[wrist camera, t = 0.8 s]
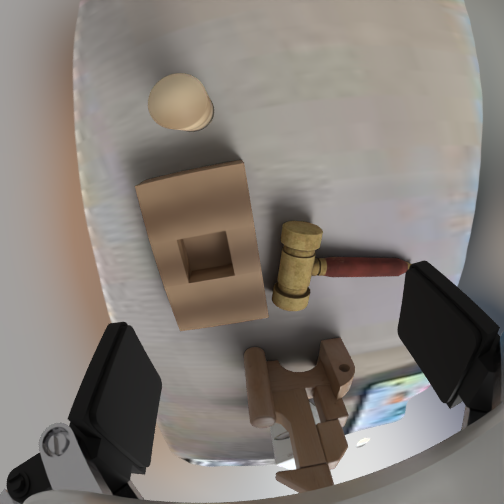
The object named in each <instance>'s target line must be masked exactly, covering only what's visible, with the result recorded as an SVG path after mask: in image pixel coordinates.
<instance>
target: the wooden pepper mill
mask: <svg viewBox="0 0 504 504" xmlns="http://www.w3.org/2000/svg"><path fill="white" fill-rule="evenodd" d="M148 109H149V112H150V115H151V117H152V118H153V119H154V121H155V122H156V123H158V124H159V125H161V126H162V127H165V128H169V129H176V130H184V131H189V132H195V131H199V130H202V129H204V128H206V127H207V126H208V125H209V124H210V123H211V121H212V119H213V116H214V106H213V103H212V101H211V100H210V98H209V96H208V94H207V92H206V90H205V88H204V86H203V85H202V83H201V82H200V81H199V80H198V79H197V78H195V77H193V76H191V75H189V74H184V73H176V74H171V75H168V76H166V77H164V78H163V79H161V80H160V81H159V82H158V83H156V85H155V86H154V87H153V89H152V90H151V92H150V95H149V99H148Z"/></svg>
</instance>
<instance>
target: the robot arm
mask: <svg viewBox="0 0 504 504" xmlns="http://www.w3.org/2000/svg"><path fill="white" fill-rule="evenodd" d="M499 328H500V327H499V326H498V325H497V324H496V323H495V322H494V321H493V320H492V319H491V318H490V317H489V316H488V315H487V314H486V313H485V312H484V311H483V310H482V309H481V308H479V307H478V305H476V304H475V303H474V302H473V301H472V300H471V299H470V298H469V297H468V296H467V295H466V294H465V293H463V292H462V291H461V290H460V289H459V288H458V287H457V286H456V285H454V284H453V283H452V282H451V281H450V280H449V279H448V278H446V277H445V276H444V275H443V274H442V273H441V272H439V271H438V270H437V269H436V268H435V267H433V266H432V265H431V264H430V263H428V262H427V261H421V262H417V263H414V264H411V265H410V267H409V269H408V270H407V271H406V275H405V283H404V291H403V299H402V306H401V312H400V318H399V324H398V335H399V338H400V339H401V341H402V342H403V344H404V345H405V346H406V348H407V349H408V351H409V352H410V354H411V355H412V357H413V358H414V360H415V361H416V363H417V364H418V366H419V367H420V369H421V370H422V372H423V373H424V375H425V376H426V378H427V379H428V381H429V382H430V384H431V386H432V387H433V389H434V390H435V392H436V393H437V395H438V397H439V398H440V400H441V401H442V402H443V403H447V405H448V407H449V408H450V409H451V408H452V407H454V406H456V405H458V404H459V403H461V402H462V401H463V402H464V403H465V405H466V406H465V412H464V418H463V423H462V429H461V431H459V432H458V433H456V434H454V435H453V436H451V437H449V438H448V439H446V440H444V441H442V442H440V443H439V444H437V445H435V446H433V447H431V448H429V449H427V450H425V451H423V452H421V453H419V454H417V455H415V456H412V457H410V458H408V459H406V460H403V461H401V462H399V463H396V464H394V465H392V466H389V467H387V468H384V469H382V470H379V471H376V472H373V473H371V474H368V475H365V476H362V477H359V478H356V479H353V480H350V481H346V482H343V483H340V484H336V485H332V486H329V487H325V488H321V489H317V490H312V491H308V492H303V493H298V494H293V495H287V496H281V497H275V498H268V499H260V500H252V501H239V502H224V503H178V502H162V501H150V500H144V498H143V497H142V496H141V494H140V493H139V492H138V490H137V489H136V487H135V486H134V485H133V483H132V482H131V480H130V476H131V473H135V474H145V472H146V467H149V465H150V462H151V454H152V446H153V440H154V433H155V426H156V419H157V413H158V407H159V401H160V395H161V389H162V382H161V378H160V376H159V375H158V373H157V371H156V369H155V368H154V366H153V364H152V363H151V361H150V359H149V357H148V355H147V354H146V352H145V350H144V348H143V346H142V344H141V343H140V341H139V339H138V337H137V335H136V333H135V331H134V329H133V328H132V326H130V325H127V323H126V322H118V323H110V324H109V325H108V326H107V328H106V330H105V332H104V334H103V336H102V338H101V340H100V343H99V345H98V347H97V349H96V351H95V353H94V355H93V358H92V360H91V362H90V364H89V367H88V369H87V371H86V374H85V376H84V379H83V381H82V383H81V386H80V388H79V391H78V393H77V396H76V398H75V400H74V403H73V406H72V408H71V411H70V414H69V417H68V419H69V421H70V425H69V426H68V425H66V424H64V423H55V424H53V425H50V426H49V427H48V428H46V429H45V431H44V432H43V433H42V435H41V437H40V440H39V451H40V453H38V454H36V455H35V456H33V457H32V458H30V459H29V460H27V461H26V462H24V463H23V464H21V465H19V466H18V467H16V468H14V469H13V470H12V471H11V472H10V474H9V475H8V478H7V490H8V491H7V490H6V489H4V490H3V491H2V493H1V494H0V504H504V331H503V332H502V334H501V336H499V335H498V334H497V333H498V330H499Z"/></svg>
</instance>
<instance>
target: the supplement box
mask: <svg viewBox="0 0 504 504" xmlns="http://www.w3.org/2000/svg"><path fill="white" fill-rule="evenodd" d="M309 403H310V402H309ZM310 406H311V410H312V413H313V416H314V420H315V423H316V424H317V423H321V422H320V418H319V415H318V412H317V409H316V407H315V406H314V405H313V404H311V403H310ZM270 429H271V435H272V442H273V449H274V455H275V462H276V465H278V466H281V467H284V468H286V469H290V470H294V469H296V465H295V460H294V455H293V450H292V445H291V441H290V436H289V432H288V431H287V430H286V429H285V428H284V427H283V426H282V425H281V424H278V423H275V424H274V425H272V426H270Z"/></svg>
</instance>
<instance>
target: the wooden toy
mask: <svg viewBox="0 0 504 504" xmlns="http://www.w3.org/2000/svg"><path fill="white" fill-rule="evenodd" d="M244 365H245V376H246V386H247V396H248V406H249V416H250V423H251V425H252V426H254V427H256V428H267V427H270V426H272V425H274V424H275V423H278V424H281V425H282V426H283V427H284V428H285V429H286V430H287V431H288V432H289V436H290V441H291V445H292V450H293V455H294V460H295V465H296V469H294V470H288V471H280V472H277V473H276V480H277V481H279V482H281V483H282V484H284V485H286V486H288V487H289V488H291V489H293V490H295V491H297V492H299V493H303V492H308V491H312V490H317V489H321V488H325V487H329V486H332V485H334V483H333V479H332V475H331V472H330V470H331V469H334V468H335V467H336V466H337V464H338V463H339V461H340V459H341V458H342V457H343V455H344V453H345V452H346V450H347V448H348V444H347V441H346V438H345V435H344V432H343V429H342V427H343V426H344V425H345V423H346V421H347V418H348V413H347V410H346V407H345V405H344V402H343V400H342V397H343V396H344V395H345V394H346V393H347V392H348V391H349V388H350V386H351V383H352V380H353V377H354V373H355V366H354V363H353V361H352V359H351V357H350V355H349V353H348V351H347V349H346V347H345V345H344V343H343V341H342V339H341V338H334V339H327V340H321V345H320V351H319V356H318V360H317V365H316V366H315V367H314V368H313V369H311V370H309V371H305V372H292V371H289V370H286V369H285V368H284V367H282V366H281V365H280V363H279V361H278V360H275V361H266V357H265V352H264V351H263V350H262V349H261V348H259V347H251V348H248V349H247V350H246V351H245V353H244ZM310 398H314V402H315V405H316V409H317V412H318V415H319V418H320V422H321V423H317V424H316V423H315V420H314V416H313V413H312V410H311V406H310V403H309V399H310Z"/></svg>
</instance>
